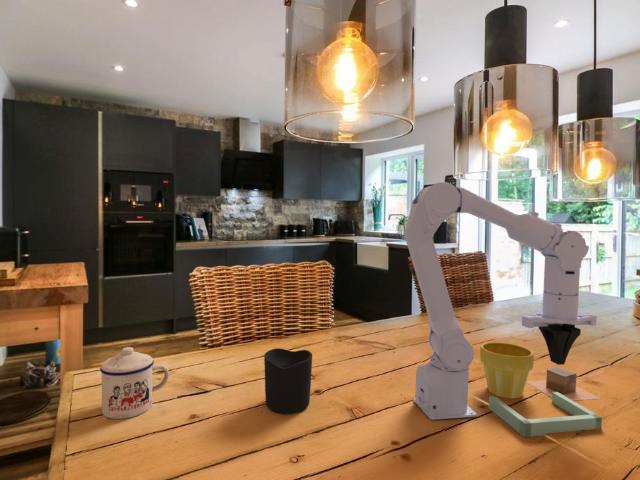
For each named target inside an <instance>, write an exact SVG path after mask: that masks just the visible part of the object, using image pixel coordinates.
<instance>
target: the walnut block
mask: <svg viewBox="0 0 640 480" xmlns="http://www.w3.org/2000/svg"><path fill="white" fill-rule="evenodd" d="M545 380H546V387H547V388H549V389H551V390H554V391H556V392H558V393H561V394H563V395H565V394H569V393H573V392H576V386H577V372H573V371H570V370H567V369H565V368H562V367H560V366H557V367H553V368H548V369H546V378H545Z"/></svg>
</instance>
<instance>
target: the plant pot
mask: <svg viewBox="0 0 640 480" xmlns="http://www.w3.org/2000/svg"><path fill="white" fill-rule="evenodd" d="M479 349H480V350H479V351H480V352H479V359H480V360H479V361H480V362H481V364H483V369H484V370H483V371H484V375H485V380H486V385H487V389H488V392H490V393H491V394H493V395H494V396H498V397H500V398H504V399H505V398H506V399H512V400H513V399H520V398H521V397H522V396H523V393H524V390H525V386H526V381H528V380H527V379H528V376H529V373H530V372H531V371H532V370H533V368H534V361H535V360H534V359H535V358H534V357H535V353H534V352H533V350H531V349H530V348H528V347H525V346H523V345H519V344H516V343H510V342H505V341H504V342H503V341H486V342H484V343H481V345H480V348H479Z"/></svg>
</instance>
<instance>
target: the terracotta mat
mask: <svg viewBox="0 0 640 480" xmlns="http://www.w3.org/2000/svg"><path fill="white" fill-rule="evenodd" d="M526 383H527V384H528V385H530V386H532V387H533V388H534V389H537V390H538V391H539V392H542V393H543V394H545V395H547V397H549V398H551V399H552V392H556V391H554V390H551V389H549V388H547V387H546V379H538V380H526ZM526 383H525V384H526ZM560 394H561V393H560ZM562 395H563V394H562ZM564 396H565V397H567V398H569V399H571V400H572V401H574V402H575V401H587V400H588V401H589V400H600V399H601V398H600V397H599V396H596V395H594V394H593V393H590V392H588V391H586V390H585V389H583V388H581V387H579V386H577V385H576V392H573V393H569V394H565V395H564Z"/></svg>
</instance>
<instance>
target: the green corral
mask: <svg viewBox="0 0 640 480" xmlns="http://www.w3.org/2000/svg"><path fill="white" fill-rule="evenodd" d="M551 403H552V404H555V405H556V406H557V407H559V408H561V409H562V410H564V411H566V412H567V413H568V414H571V415H570V416H569V415H567V416H554V417H544V418H543V417H542V418H540V417H539V418H530V419H528V418H525V417H524V416H522V415H521V414H519V412H517V411H515V410H514V409H513V408H511V407H510V406H508V404H506V403H505V402H503V400H502V399H499V398H498V397H496V395H494V396H493V395H492V396H489V398H488V409H489V410H490V411H491V412H493V413H494V414H495V415H496V416H497V417H499V418H500V419H501V420H502V421H504V422H505V423H506V424H507V425H508V426H510V427H511V428H513V429H514V430H515V432H517V433H518V434H519V435H521V436H522V437H524V438H530V437H532V438H533V437H541V436H548V434H553V433H564V432H565V433H567V432H577V431H589V430H600V429H602V422H603V417H602V416H600V415H599V414H597V413H595V412H593V411H592V410H590V409H589V408H586V407H585V406H582V405H581V404H579V403H577V402H575V401H572V400H571V399H569V398H567V397H565V396H564V395H562V394H560V393H558V392H552V398H551Z"/></svg>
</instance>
